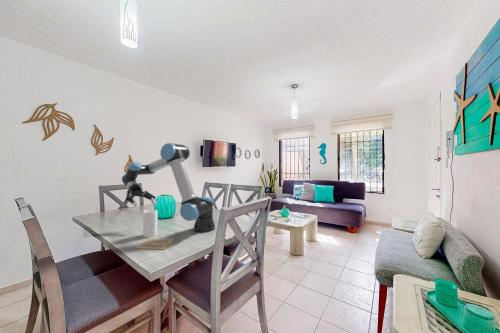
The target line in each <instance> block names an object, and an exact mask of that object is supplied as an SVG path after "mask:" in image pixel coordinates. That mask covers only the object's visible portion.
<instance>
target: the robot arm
mask: <svg viewBox="0 0 500 333" xmlns="http://www.w3.org/2000/svg"><path fill="white" fill-rule="evenodd" d="M159 153H160V154H159V155H160V157H161V158H159V159H157V160H155V161H152V162H150V163H148V164H144V165H143V164H141V163H139V161H138V162H136V161H132V162H130V164H129V166H128V169H127V171H126V173H125V174H123V175H122V176H121V182H122V183H123V185H124V186H125V187H126V189H127V191H126V192H125V193H126V197H125V201H127V202H128V203H130V204H132V205H133V207H134V208H136V207H137V205H138V203H137V201H136V200H135V198H136V197H141V198H145V199H147V200H149V201H150V203H151V204H152V205H153V206H154V207H156V206H157V203H158V202H157V201H156V196H155V195H153V194H151V193H150V192H148V190H145V191H143V190H142V188H141V186H140V185H139V183H138V182H137V181H136V180H137V177H138V176H141V175H154V174H155V173H156V172H157V171H159V170H163V169H165V168H166V167H171V171H172V173H173V177H174V180H175V182H176V185H177V189H178V191H179V194H180V197H181V202H180V205H181V206H180V209H179V213H180V216H181V217H182V218H183V219H184V220H185V221H187V222H188V221H189V222H192V221H194V224H193V231H195V232H198V233H207V232H212V231H214V230H215V229H216V225H215V224H216V223H215V221H214V218H213V215H214V212H213V211H214V201H213V200H214V199H213V198H212V197H207V196H198V195H196V194H195V191H194V188H193V185H192V182H191V179H190V177H189V173H188V170H187V168H186V166H185V163H184V162H185V161H186V160H187V159H188V158H190V155H191V152H190V149H189V147H188V146H186V145H184V144H179V143H172V142H167V143H165V144H164V145H162V147H161V149H160V152H159ZM130 195H131V196H130Z"/></svg>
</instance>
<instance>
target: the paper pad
mask: <svg viewBox="0 0 500 333" xmlns="http://www.w3.org/2000/svg"><path fill="white" fill-rule="evenodd" d="M174 241H175V239H164V238H163V239H162V238H161V239H159V238H157V239H155V238H148V239H147V240H146V241H145V240H144V242H142V243H141V244H140V245H139V246H137V247H135V250H137V249H138V250H166V249H167V248H168V247H169V246H170V245H171V244H172V243H173V242H174Z"/></svg>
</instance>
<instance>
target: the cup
mask: <svg viewBox="0 0 500 333" xmlns="http://www.w3.org/2000/svg"><path fill="white" fill-rule="evenodd" d="M142 233H143V235H142V236H143V238H153V237H156V236H157V235H158V209H146V210H144V211H143V231H142Z"/></svg>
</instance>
